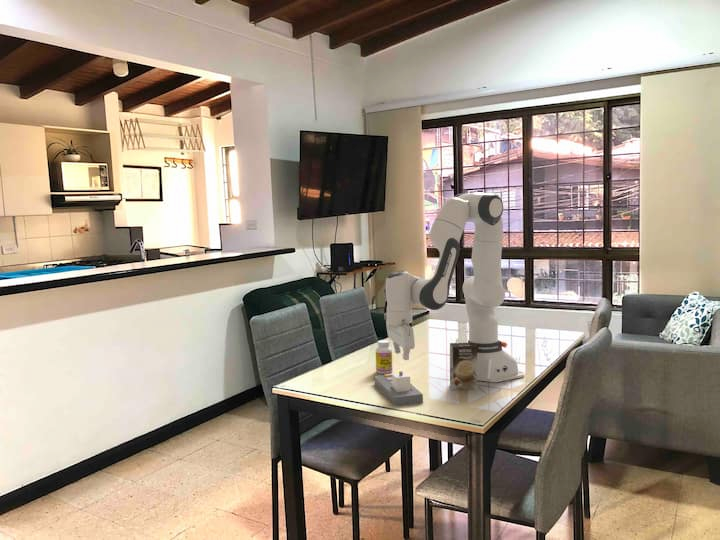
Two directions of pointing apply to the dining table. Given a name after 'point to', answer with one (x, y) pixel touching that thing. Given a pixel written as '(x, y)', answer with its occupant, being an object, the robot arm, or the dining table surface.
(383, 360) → the supplement bottle
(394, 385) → the block
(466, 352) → the coffee box
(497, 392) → the dining table surface
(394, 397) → the power strip
